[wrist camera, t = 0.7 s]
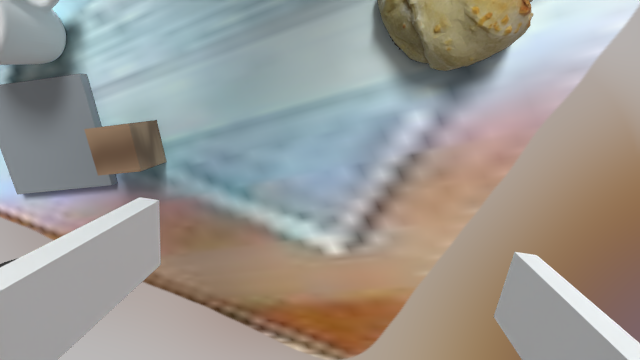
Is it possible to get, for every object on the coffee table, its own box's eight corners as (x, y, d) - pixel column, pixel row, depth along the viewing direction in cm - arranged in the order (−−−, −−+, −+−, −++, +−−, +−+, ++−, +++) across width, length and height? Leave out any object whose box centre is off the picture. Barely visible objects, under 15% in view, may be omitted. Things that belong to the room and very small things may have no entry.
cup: (57, -41, 33) (-29, -82, 26) (108, 26, 35) (41, 6, 27) (-4, 25, 36) (-100, 5, 28) (46, 85, 37) (-32, 82, 29)
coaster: (-13, 88, 38) (-22, 87, 37) (86, 74, 36) (79, 73, 35) (25, 192, 41) (17, 194, 40) (117, 183, 39) (111, 185, 39)
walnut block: (117, 124, 38) (84, 129, 33) (156, 120, 37) (128, 123, 32) (128, 165, 39) (98, 175, 34) (166, 161, 38) (141, 171, 34)
